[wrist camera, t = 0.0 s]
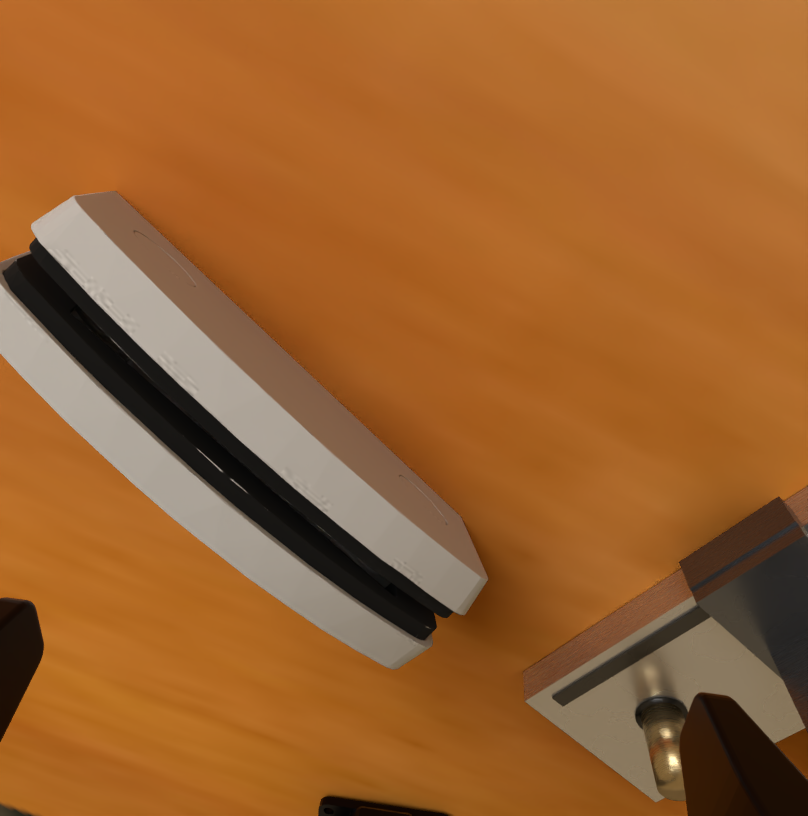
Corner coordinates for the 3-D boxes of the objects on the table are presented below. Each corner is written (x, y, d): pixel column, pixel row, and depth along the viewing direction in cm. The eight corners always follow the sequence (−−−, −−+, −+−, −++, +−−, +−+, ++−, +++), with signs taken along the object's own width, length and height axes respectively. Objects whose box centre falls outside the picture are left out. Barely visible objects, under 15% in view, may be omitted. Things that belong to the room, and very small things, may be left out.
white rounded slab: (27, 289, 24) (-166, 317, 14) (122, 188, 23) (-7, 146, 14) (372, 588, 28) (408, 767, 18) (456, 505, 28) (538, 644, 18)
